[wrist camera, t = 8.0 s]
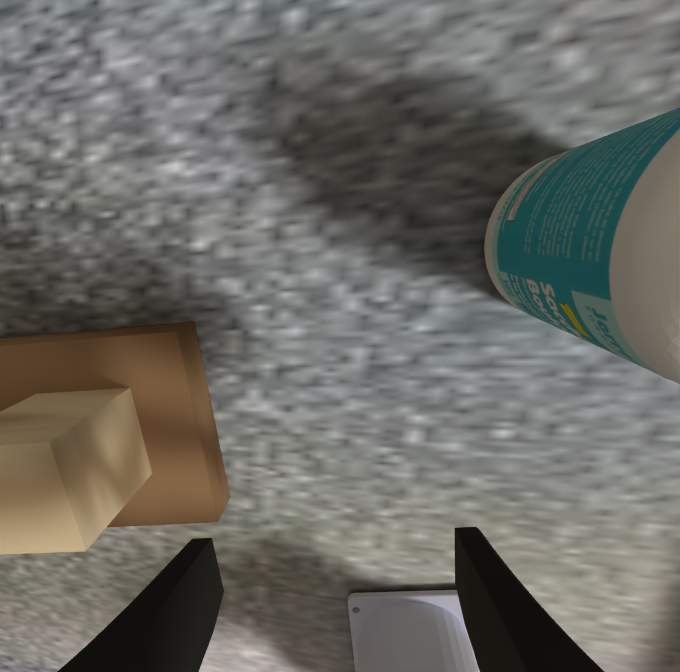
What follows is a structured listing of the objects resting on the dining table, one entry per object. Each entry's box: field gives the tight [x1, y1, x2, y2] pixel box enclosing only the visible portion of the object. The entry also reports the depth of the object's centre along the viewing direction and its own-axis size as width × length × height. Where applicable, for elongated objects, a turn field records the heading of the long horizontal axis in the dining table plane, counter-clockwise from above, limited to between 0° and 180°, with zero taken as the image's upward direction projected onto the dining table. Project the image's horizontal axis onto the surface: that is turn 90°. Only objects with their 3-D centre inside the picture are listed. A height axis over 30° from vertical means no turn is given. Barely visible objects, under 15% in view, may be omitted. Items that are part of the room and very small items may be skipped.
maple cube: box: [0, 388, 152, 554], centre depth 17 cm, size 5×5×5 cm
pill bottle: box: [484, 108, 680, 384], centre depth 11 cm, size 8×7×14 cm
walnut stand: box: [0, 322, 230, 527], centre depth 20 cm, size 11×11×2 cm
